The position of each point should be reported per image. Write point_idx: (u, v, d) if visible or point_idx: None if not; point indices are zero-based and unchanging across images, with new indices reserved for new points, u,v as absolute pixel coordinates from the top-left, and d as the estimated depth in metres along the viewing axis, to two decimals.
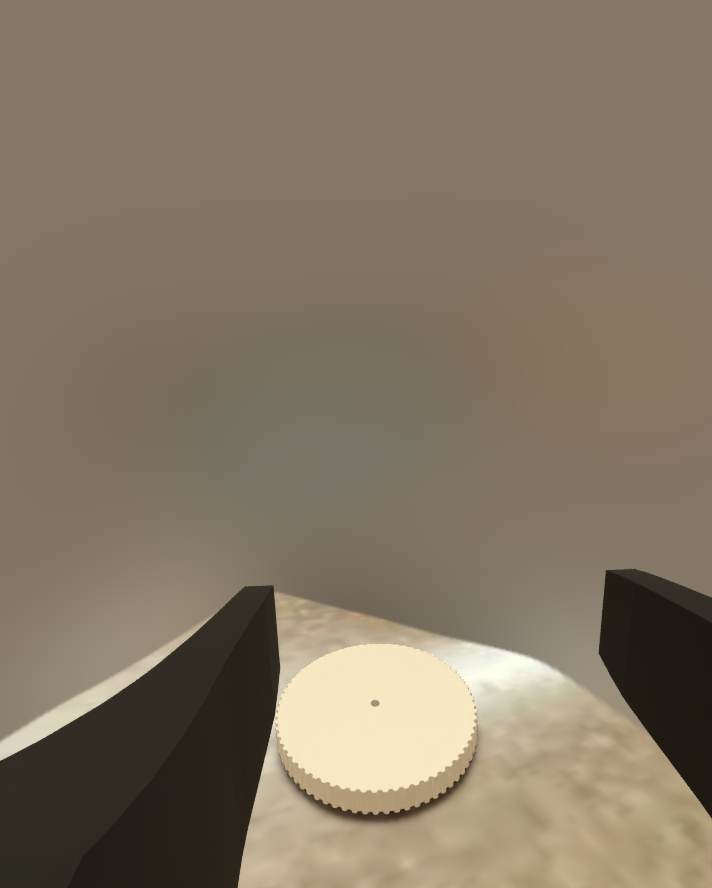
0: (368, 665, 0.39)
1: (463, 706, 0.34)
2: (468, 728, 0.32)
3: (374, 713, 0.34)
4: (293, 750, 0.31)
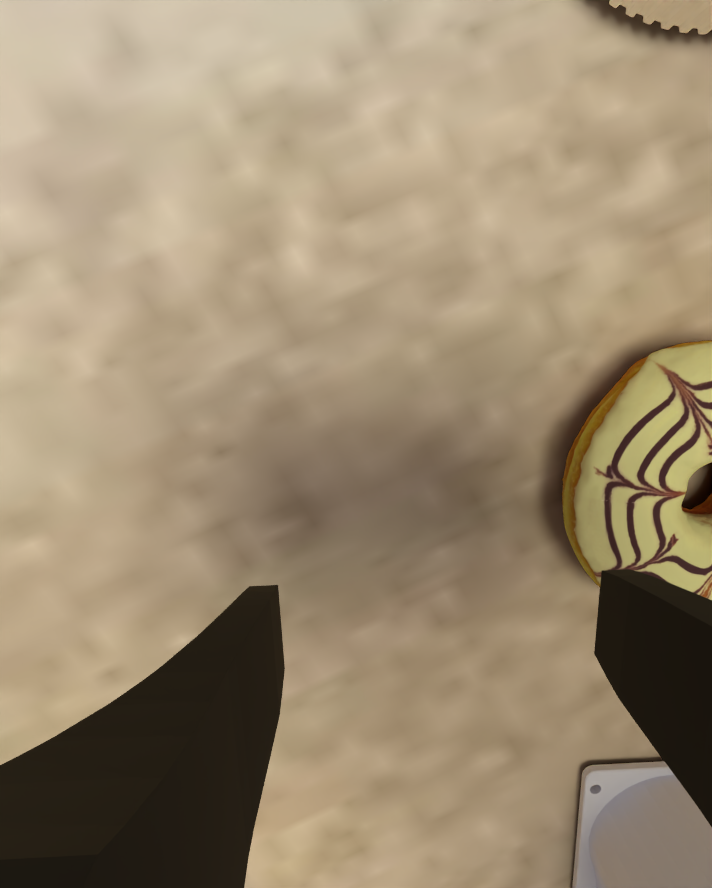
0: None
1: None
2: None
3: None
4: None
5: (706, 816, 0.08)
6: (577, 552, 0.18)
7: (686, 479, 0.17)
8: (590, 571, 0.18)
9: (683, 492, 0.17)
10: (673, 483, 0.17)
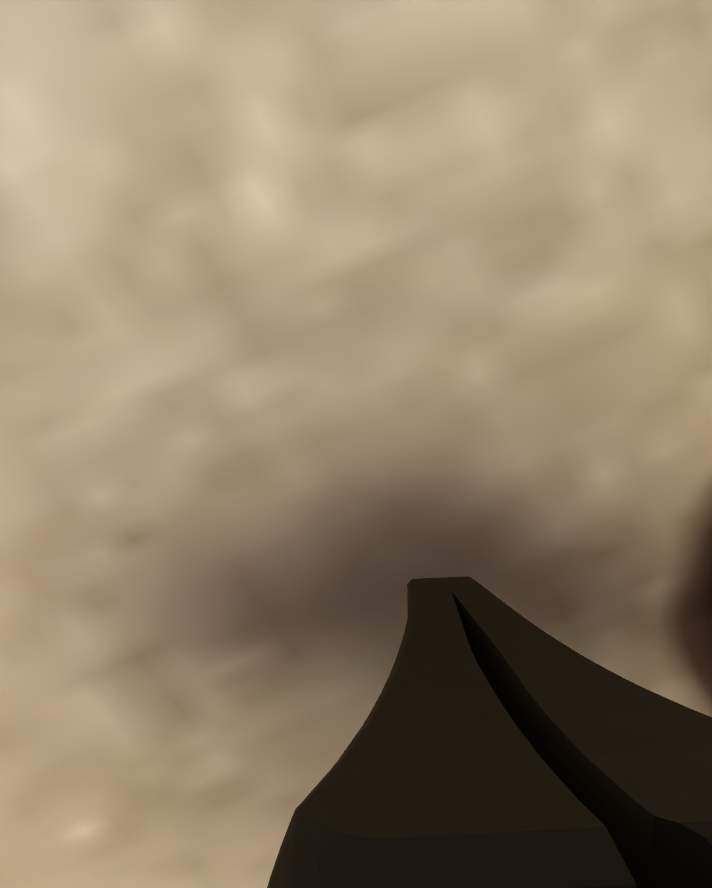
0: None
1: None
2: None
3: None
4: None
5: None
6: None
7: None
8: None
9: None
10: None
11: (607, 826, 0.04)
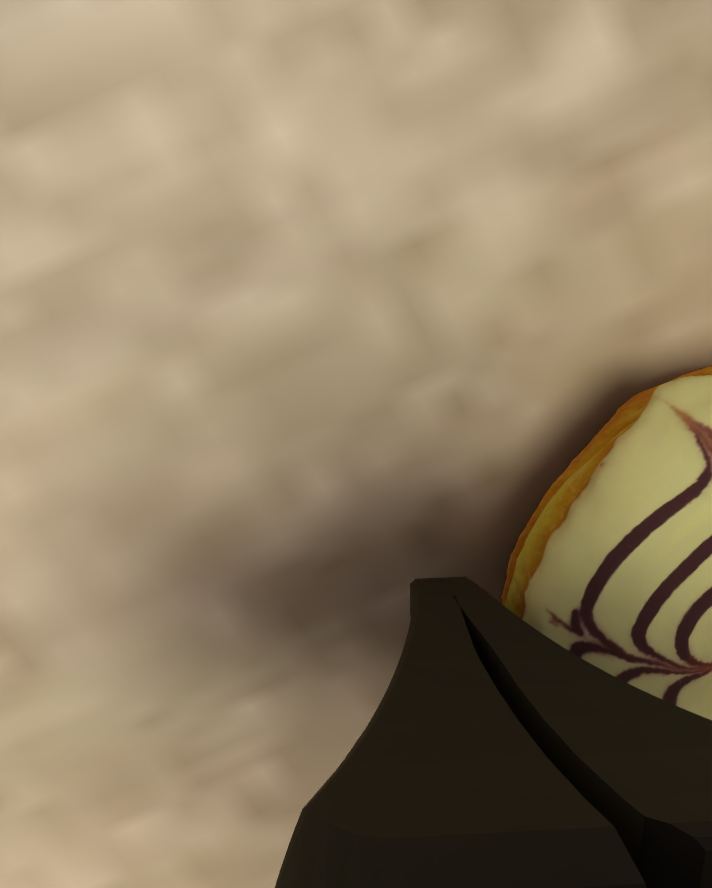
0: None
1: None
2: None
3: None
4: None
5: None
6: None
7: None
8: None
9: None
10: (703, 648, 0.08)
11: None
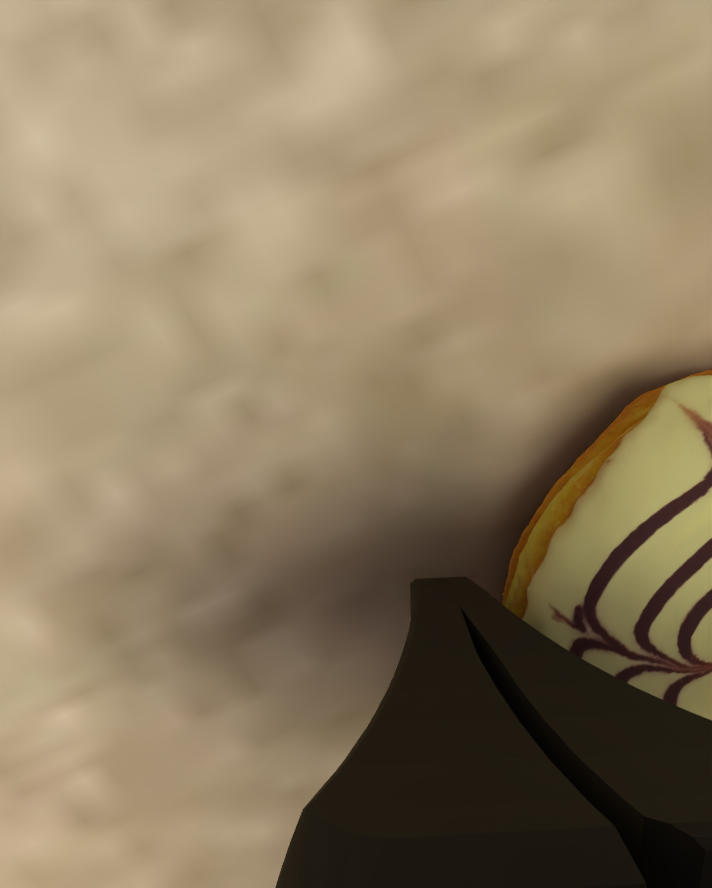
0: None
1: None
2: None
3: None
4: None
5: None
6: None
7: None
8: None
9: None
10: (706, 647, 0.08)
11: None
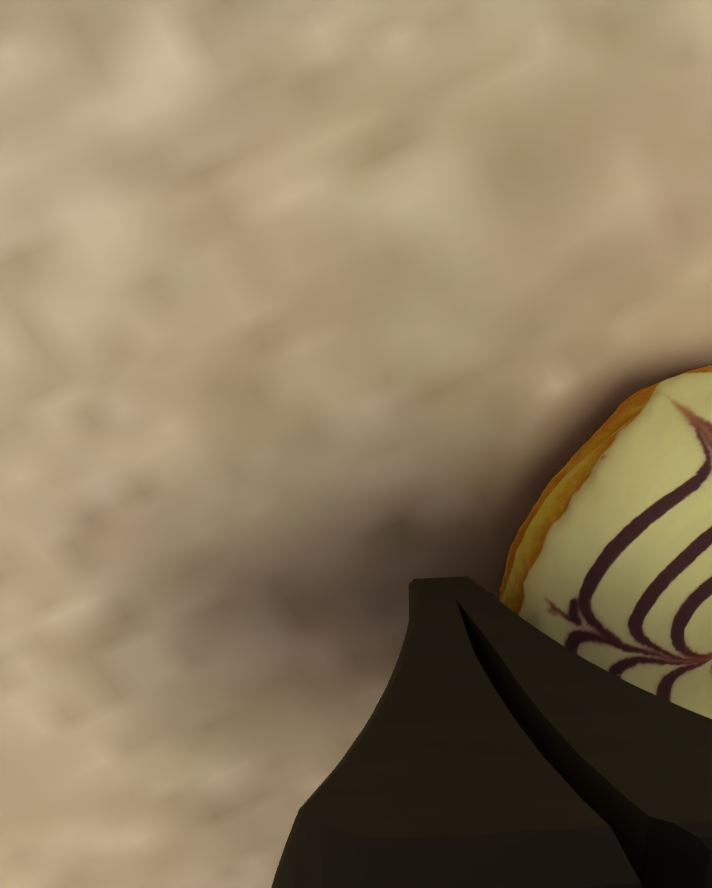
0: None
1: None
2: None
3: None
4: None
5: None
6: None
7: None
8: None
9: None
10: (699, 639, 0.08)
11: None
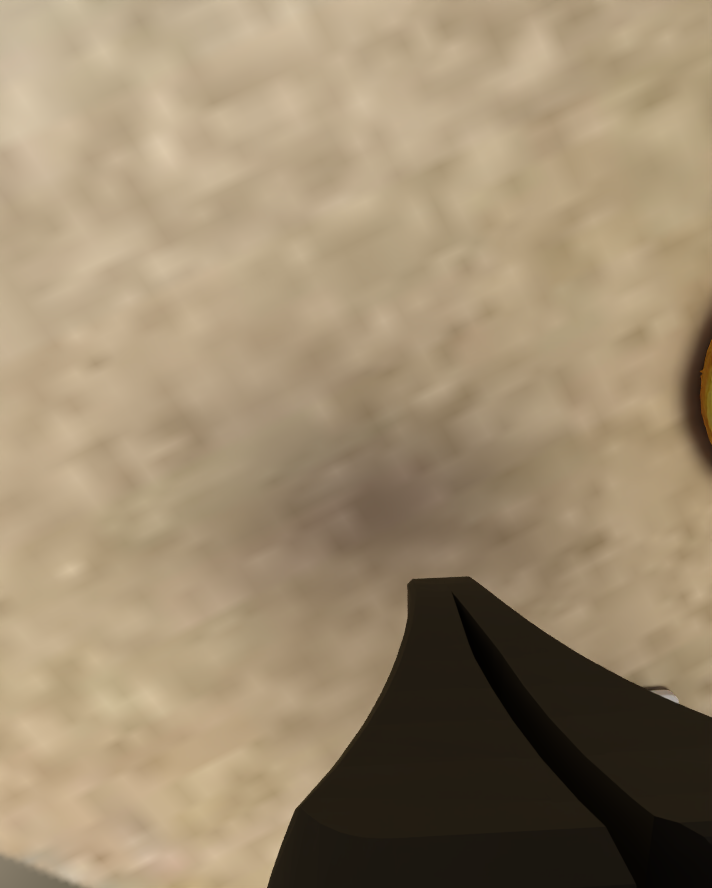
0: None
1: None
2: None
3: None
4: None
5: None
6: None
7: None
8: None
9: None
10: None
11: (607, 826, 0.04)
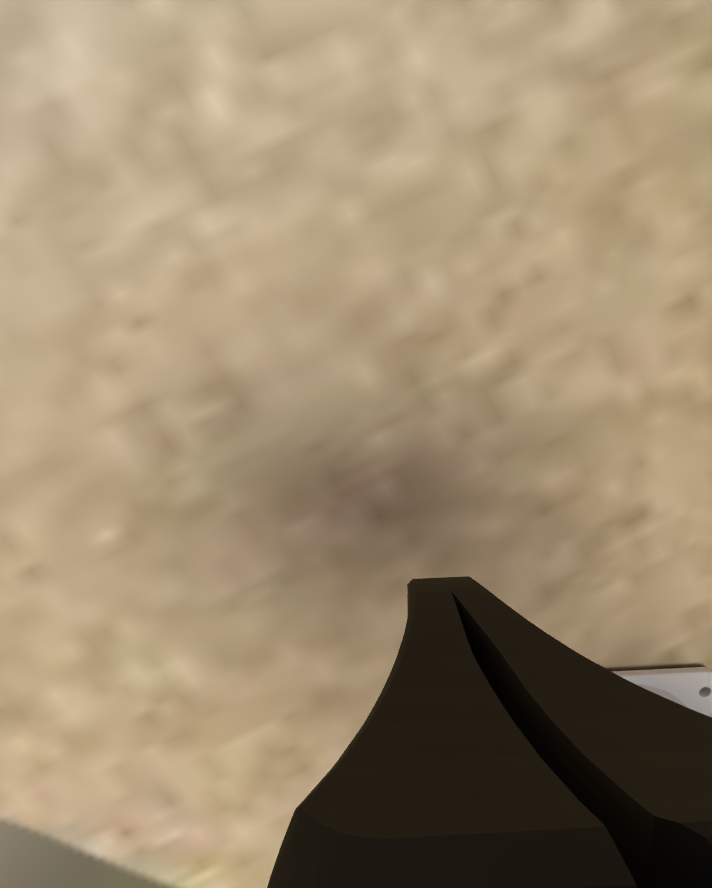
0: None
1: None
2: None
3: None
4: None
5: None
6: None
7: None
8: None
9: None
10: None
11: (607, 826, 0.04)
